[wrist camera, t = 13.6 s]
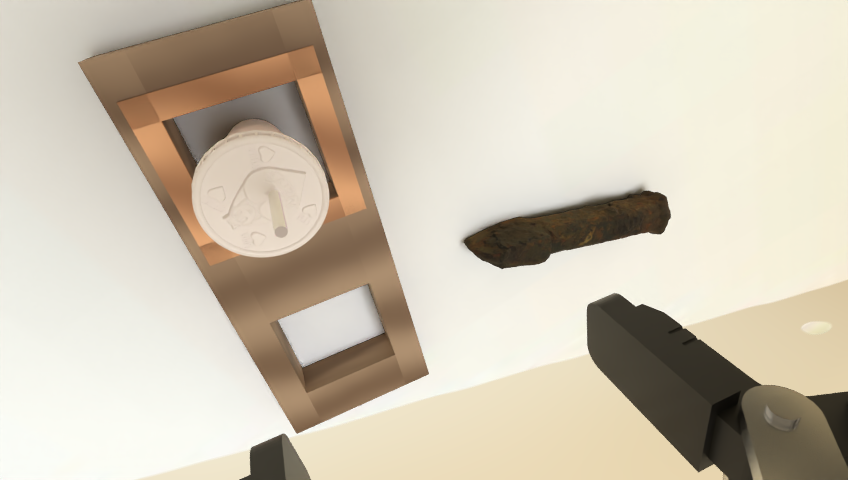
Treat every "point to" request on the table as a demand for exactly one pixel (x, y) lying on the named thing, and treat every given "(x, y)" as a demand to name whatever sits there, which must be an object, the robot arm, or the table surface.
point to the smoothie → (259, 191)
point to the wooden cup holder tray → (301, 268)
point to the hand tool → (569, 230)
